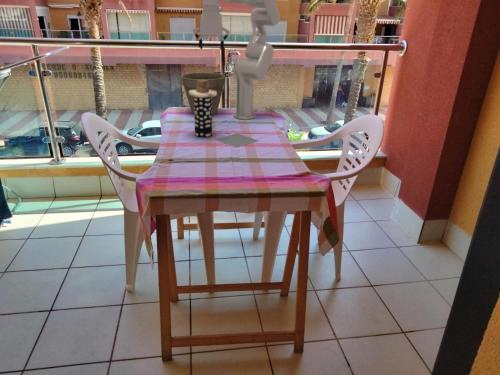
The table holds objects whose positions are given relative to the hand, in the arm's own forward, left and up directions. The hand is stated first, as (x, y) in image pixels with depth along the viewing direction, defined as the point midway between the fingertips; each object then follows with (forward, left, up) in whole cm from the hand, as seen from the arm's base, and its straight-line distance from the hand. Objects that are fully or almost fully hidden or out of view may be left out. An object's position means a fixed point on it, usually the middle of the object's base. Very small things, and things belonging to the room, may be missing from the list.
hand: (211, 49), depth 177 cm
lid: (+13, +9, -18) cm, 24 cm away
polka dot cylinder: (+13, +9, -38) cm, 42 cm away
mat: (+6, +25, -38) cm, 46 cm away
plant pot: (-15, -25, -38) cm, 48 cm away
